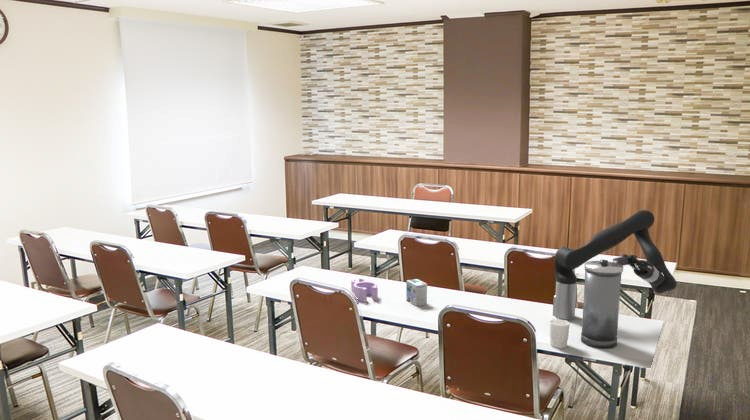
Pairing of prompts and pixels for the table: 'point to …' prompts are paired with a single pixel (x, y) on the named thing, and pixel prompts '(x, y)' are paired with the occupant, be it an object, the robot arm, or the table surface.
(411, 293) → the light bulb box
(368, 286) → the clip
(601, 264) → the lid
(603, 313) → the canister
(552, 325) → the white cup
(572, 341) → the table surface
